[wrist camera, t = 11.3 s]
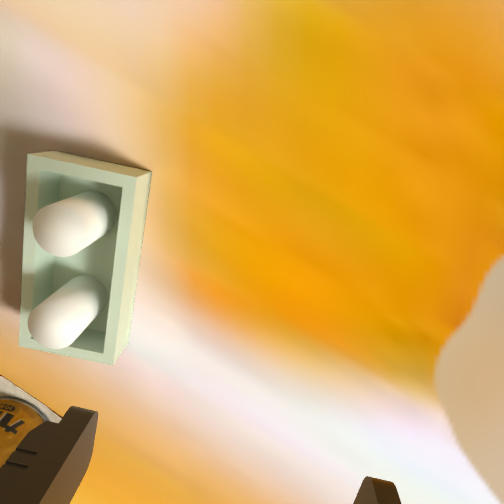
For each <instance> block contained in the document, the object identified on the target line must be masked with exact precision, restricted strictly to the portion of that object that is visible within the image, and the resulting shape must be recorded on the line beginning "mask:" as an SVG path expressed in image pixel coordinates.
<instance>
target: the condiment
mask: <svg viewBox="0 0 504 504" xmlns="http://www.w3.org/2000/svg"><path fill="white" fill-rule="evenodd" d="M61 419H62V418H60V417H59V416H58V415H57V414H55V413H54V412H53V411H51V410H50V409H49V408H48V407H46V406H45V405H44V404H42V403H41V402H39V401H38V400H36V399H35V398H33V397H32V396H31V395H29V394H27V393H26V392H25V391H24V390H22V389H21V388H19V387H17V386H15V385H14V384H13V383H12V382H10V381H9V380H7V379H5V378H4V377H2V376H0V468H1V467H2V465H3V464H5V462H6V460H7V459H8V458H9V456H10V455H11V454H12V452H13V451H15V450H16V447H17V446H18V445H19V444H20V442H21V441H22V440H23V438H24V437H25V436H26V435H27V433H28V432H29V431H31V430H32V429H34V428H35V427H37V426H39V425H40V424H42V423H43V422H45V421H46V420H47V421H51V422H55V423H59V422H60V421H61Z"/></svg>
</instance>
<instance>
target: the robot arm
mask: <svg viewBox="0 0 504 504" xmlns="http://www.w3.org/2000/svg"><path fill="white" fill-rule="evenodd" d="M97 420H98V412H97V411H92V410H88V409H84V408H80V407H75V406H71V407H70V408H69V409H68V411H67V412H66V413H65V415H64V416H63V418H62V419H61V421H60V422H59V423H55V422H51V421H47V420H46V421H45V422H43V423H42V424H40V425H39V426H37V427H35V428H34V429H32V430H31V431H29V432H28V433H27V435H26V436H25V437H24V438H23V440H22V441H21V442H20V444H19V445H18V446H17V447H16V450H15V451H13V452H12V454H11V455H10V456H9V458H8V459H7V460H6V462H5V464H3V465H2V467H1V468H0V504H70V502H71V500H72V498H73V496H74V494H75V492H76V490H77V488H78V487H79V485H80V483H81V481H82V479H83V477H84V475H85V473H86V471H87V468H88V466H89V463H90V460H91V456H92V452H93V446H94V439H95V433H96V426H97ZM353 504H401V501H400V498H399V495H398V492H397V489H396V487H395V485H394V483H393V482H390V481H385V480H381V479H377V478H373V477H368V476H367V477H365V478H364V480H363V482H362V485H361V487H360V489H359V491H358V494H357V496H356V498H355V501H354V503H353Z"/></svg>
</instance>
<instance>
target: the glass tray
mask: <svg viewBox="0 0 504 504" xmlns="http://www.w3.org/2000/svg"><path fill="white" fill-rule="evenodd" d="M151 174H152V172H151V171H147V170H142V169H138V168H133V167H128V166H124V165H119V164H115V163H110V162H105V161H101V160H96V159H92V158H87V157H82V156H78V155H73V154H69V153H64V152H59V151H47V152H38V153H29V154H27V172H26V194H25V217H24V239H23V262H22V284H21V307H20V329H19V346H20V347H25V348H30V349H35V350H40V351H45V352H50V353H54V354H59V355H64V356H69V357H74V358H79V359H84V360H89V361H94V362H98V363H103V364H108V365H114V364H115V362H116V361H117V359H118V357H119V356H120V354H121V353H122V351H123V350H124V348H125V347H126V345H127V344H128V342H129V337H130V329H131V322H132V314H133V307H134V300H135V292H136V285H137V278H138V270H139V263H140V255H141V248H142V241H143V233H144V226H145V219H146V211H147V204H148V196H149V189H150V182H151Z"/></svg>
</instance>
